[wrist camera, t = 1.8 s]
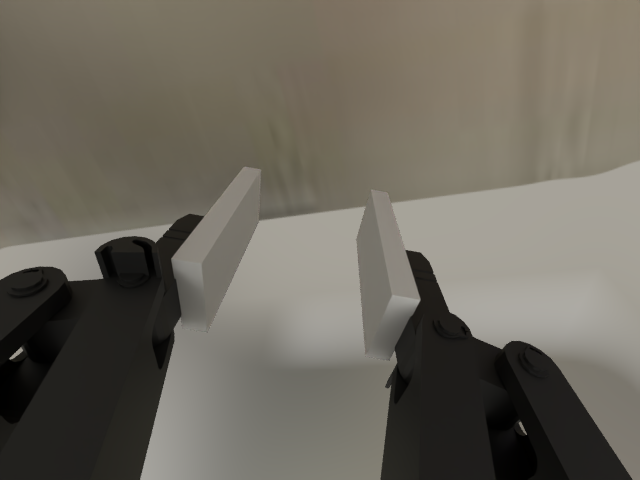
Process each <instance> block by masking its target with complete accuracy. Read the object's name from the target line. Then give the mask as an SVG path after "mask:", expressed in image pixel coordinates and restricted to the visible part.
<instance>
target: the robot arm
mask: <svg viewBox="0 0 640 480" xmlns="http://www.w3.org/2000/svg"><path fill="white" fill-rule="evenodd" d="M260 185H261V169H256V168H250V167H245V166H244V167H243V168H242V170H241V171H240V172H239V173H238V175H237V176H236V177H235V179H234V180H233V181H232V182H231V184H230V185H229V186H228V187H227V189H226V190H225V191H224V192H223V194H222V195H221V196H220V198H219V199H218V200H217V201H216V203H215V204H214V205H213V206H212V208H211V209H210V210H209V211H208V213H207V214H206V215H205V216H199V215H193V214H188V215H186V216H184V217H182V218H180V219H178V220H177V221H176V222H175V223H174V224H173V225H172V226H171V227H170V228H169V230H167V231H166V233H165V234H164V235H163V237H161V238H160V239H159V240H158V241H157V242H156V243H155V242H154V241H152V240H150V239H148V238H145V237H137V236H132V237H122V238H119V239H114V240H111V241H109V242H107V243H105V244H103V245H101V246H100V247H99V248H98V249H97V250H96V251H95V255H96V258H97V261H98V264H99V266H100V269H101V272H102V275H103V279H98V280H83V281H68V280H67V277H66V275H65V274H64V273H63V272H62V271H61V270H60V269H57V268H54V267H35V268H29V269H24V270H21V271H19V272H16V273H13V274H11V275H9V276H7V277H5V278H3V279H1V280H0V480H140V477H141V473H142V469H143V465H144V461H145V457H146V453H147V449H148V445H149V441H150V437H151V433H152V429H153V425H154V421H155V417H156V412H157V409H158V405H159V400H160V397H161V392H162V388H163V384H164V380H165V376H166V372H167V368H168V364H169V360H170V356H171V352H172V348H173V344H174V327H175V325H176V323H177V322H178V320H179V318H180V317H181V322H182V327H183V328H184V329H190V330H197V331H203V332H208V330H209V328H210V326H211V324H212V322H213V319H214V317H215V315H216V313H217V310H218V309H219V306H220V304H221V302H222V300H223V298H224V296H225V293H226V291H227V289H228V287H229V285H230V283H231V281H232V278H233V276H234V274H235V272H236V269H237V267H238V265H239V263H240V261H241V259H242V257H243V255H244V253H245V250H246V248H247V246H248V244H249V241H250V240H251V237H252V235H253V233H254V231H255V229H256V227H257V224H258V222H259V204H260ZM357 251H358V263H359V277H360V288H361V289H360V290H361V303H362V316H363V329H364V341H365V355H366V357H371V358H377V359H383V360H390V358H391V356H392V354H393V352H394V351H395V352H396V358H397V364H396V366H395V368H394V370H393V372H392V374H391V376H390V377H389V379H388V381H387V384H386V386H385V387H386V388H389V387H390V385H391V392H390V401H389V410H388V418H387V427H386V436H385V445H384V454H383V463H382V472H381V480H632V478H631V477H630V475H629V474H628V472H627V471H626V469H625V468H624V466H623V465H622V463H621V462H620V460H619V459H618V457H617V455H616V454H615V453H614V451H613V450H612V448H611V447H610V445H609V443H608V442H607V440H606V439H605V437H604V436H603V434H602V433H601V431H600V430H599V428H598V427H597V425H596V424H595V422H594V421H593V419H592V418H591V416H590V415H589V413H588V412H587V410H586V409H585V407H584V405H583V404H582V403H581V401H580V399H579V398H578V396H577V395H576V393H575V392H574V390H573V389H572V387H571V386H570V385H569V383H568V382H567V380H566V378H565V377H564V375H563V374H562V372H561V371H560V369H559V368H558V367H557V365H556V364H555V363H554V362H553V361H552V359H551V358H550V357H548V356H547V355H546V354H545V353H543V352H542V351H541V350H539V349H537V348H536V347H534V346H532V345H530V344H528V343H524V342H521V341H511V342H509V343H508V344H506V346H505V347H504V348H503V349H500V348H497V347H495V346H493V345H490V344H488V343H485V342H483V341H481V340H478V339H476V338H474V337H473V336H472V334H471V331H470V329H469V328H468V327H467V325H466V324H465V323H464V322H463V321H462V320H461V319H459V318H458V317H457V316H456V315H454V314H452V313H450V312H449V310H448V307H447V305H446V302H445V300H444V297H443V295H442V292H441V290H440V287H439V285H438V283H437V280H436V277H435V275H434V274H433V270H432V267H431V265H430V263H429V261H428V260H427V259H426V258H425V257H424V256H423V255H422V254H421V253H420V252H414V251H408V250H405V248H404V245H403V241H402V238H401V235H400V231H399V228H398V225H397V222H396V218H395V215H394V212H393V209H392V205H391V202H390V199H389V196H388V192H383V191H378V190H372V189H371V190H370V194H369V197H368V201H367V204H366V208H365V211H364V215H363V218H362V222H361V225H360V229H359V232H358V236H357ZM20 347H22V349H23V352H21V353H20V354H19V355H18V356H16V357H15V358H14V359H11V360H10V359H9V358H10V357H11V356H12V355H13V354H14V353H15V352H16V351H17V350H18V349H19V348H20ZM520 421H521V422H522V425H523V427H524V429H525V431H526V433H527V435H526V434H525V433H524V432H523V431H522V430H521V427H520V425H519V422H520Z"/></svg>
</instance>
